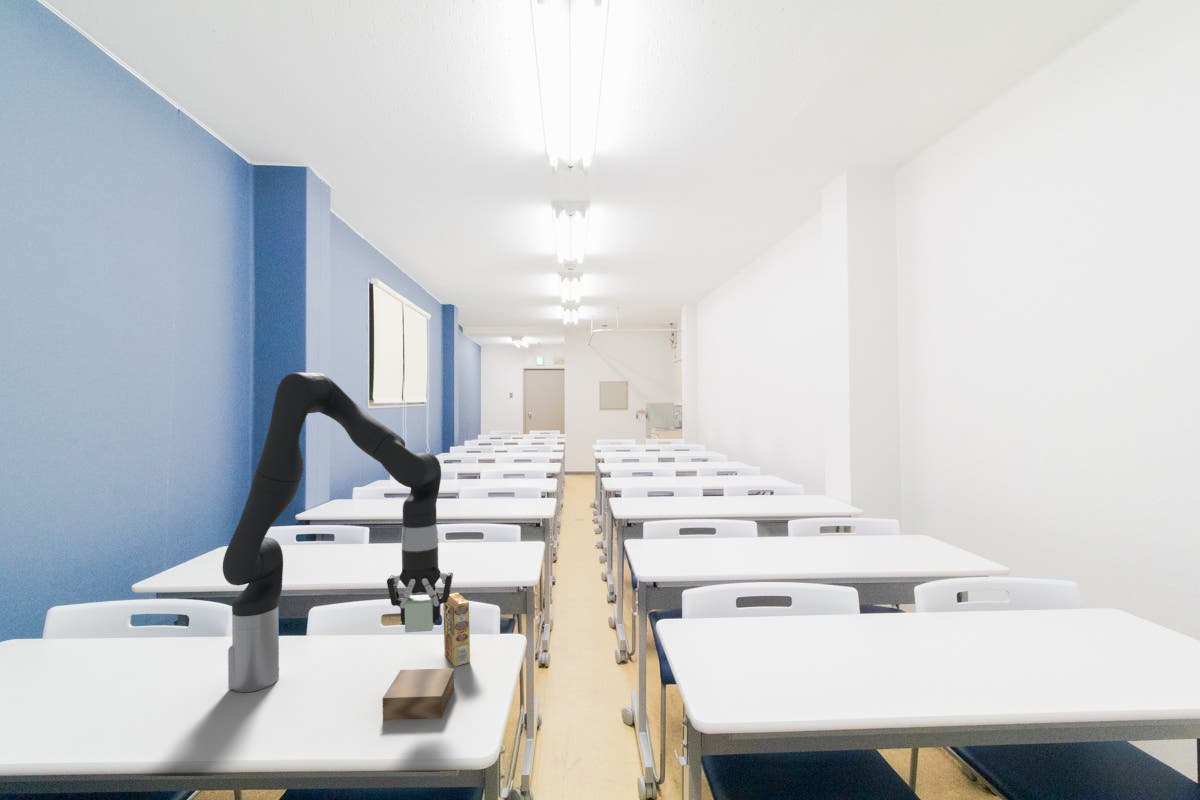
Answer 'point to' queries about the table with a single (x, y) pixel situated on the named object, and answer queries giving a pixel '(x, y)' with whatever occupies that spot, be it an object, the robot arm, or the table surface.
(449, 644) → the candy box
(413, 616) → the sage cube
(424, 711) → the walnut block
